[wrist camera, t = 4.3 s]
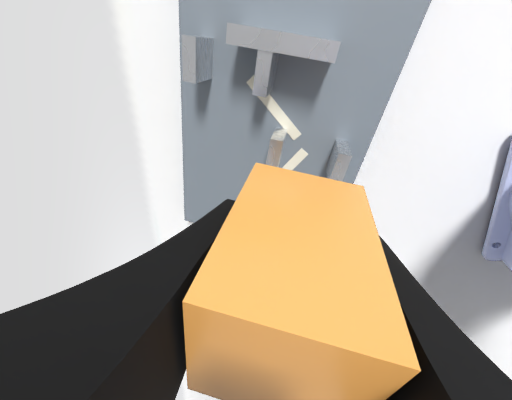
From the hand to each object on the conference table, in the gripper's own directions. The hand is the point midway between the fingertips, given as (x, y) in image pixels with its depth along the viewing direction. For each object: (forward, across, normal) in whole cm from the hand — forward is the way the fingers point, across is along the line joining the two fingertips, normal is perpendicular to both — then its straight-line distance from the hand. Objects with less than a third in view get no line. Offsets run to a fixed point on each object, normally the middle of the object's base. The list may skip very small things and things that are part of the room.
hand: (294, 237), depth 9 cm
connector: (+2, 0, 0) cm, 2 cm away
